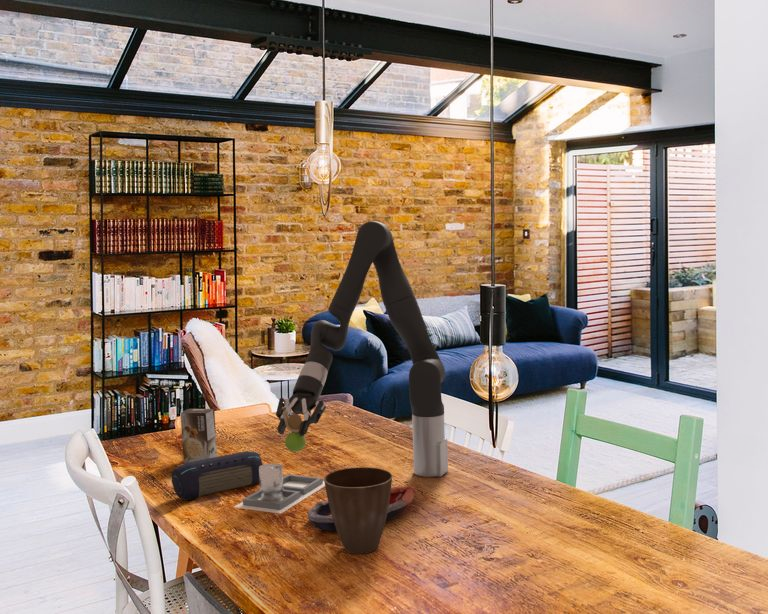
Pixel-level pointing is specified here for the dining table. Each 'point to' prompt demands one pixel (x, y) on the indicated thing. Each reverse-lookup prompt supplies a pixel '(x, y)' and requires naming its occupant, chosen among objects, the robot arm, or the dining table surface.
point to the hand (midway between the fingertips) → (290, 433)
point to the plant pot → (359, 506)
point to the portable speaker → (216, 474)
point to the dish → (397, 506)
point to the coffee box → (198, 434)
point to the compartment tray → (285, 494)
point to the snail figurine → (293, 432)
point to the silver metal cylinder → (271, 482)
